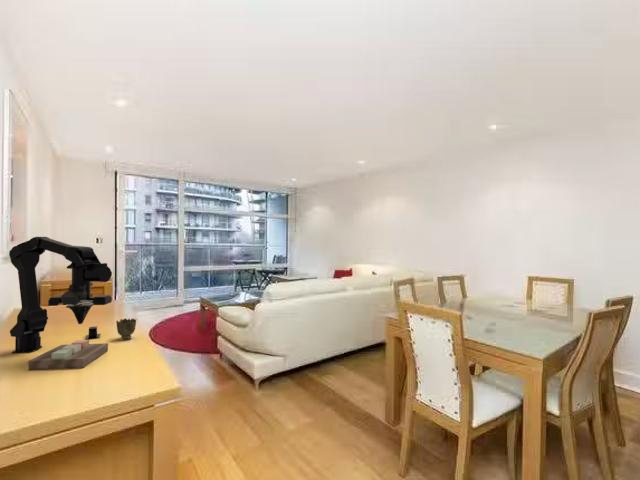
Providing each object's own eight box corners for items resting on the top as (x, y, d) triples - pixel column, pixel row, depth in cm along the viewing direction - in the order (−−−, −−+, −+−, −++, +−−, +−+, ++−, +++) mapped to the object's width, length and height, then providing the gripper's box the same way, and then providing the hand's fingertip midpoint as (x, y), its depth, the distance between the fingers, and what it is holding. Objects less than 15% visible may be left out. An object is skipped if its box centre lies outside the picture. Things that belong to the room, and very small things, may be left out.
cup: (126, 341, 139) (127, 322, 139) (111, 340, 140) (112, 321, 140) (140, 336, 146) (140, 318, 146) (125, 335, 148) (125, 317, 148)
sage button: (51, 363, 110) (51, 353, 110) (58, 359, 114) (59, 349, 114) (64, 362, 110) (64, 353, 110) (71, 358, 114) (72, 349, 114)
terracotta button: (71, 352, 120) (71, 343, 120) (77, 348, 124) (77, 340, 124) (83, 351, 121) (83, 343, 121) (89, 348, 125) (89, 339, 125)
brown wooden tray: (28, 370, 108) (28, 360, 108) (61, 352, 124) (61, 344, 125) (83, 368, 110) (83, 358, 110) (107, 351, 127) (107, 343, 127)
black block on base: (84, 335, 149) (84, 325, 149) (103, 333, 153) (104, 323, 153) (81, 343, 139) (81, 331, 139) (102, 340, 142) (102, 329, 142)
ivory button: (61, 357, 115) (61, 348, 115) (68, 353, 119) (68, 344, 119) (74, 357, 116) (74, 347, 116) (80, 353, 120) (81, 344, 120)
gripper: (37, 284, 114) (37, 330, 113) (97, 283, 116) (97, 328, 116) (58, 280, 125) (57, 322, 124) (112, 280, 127) (111, 321, 127)
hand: (80, 323), depth 123 cm, fingers closed
